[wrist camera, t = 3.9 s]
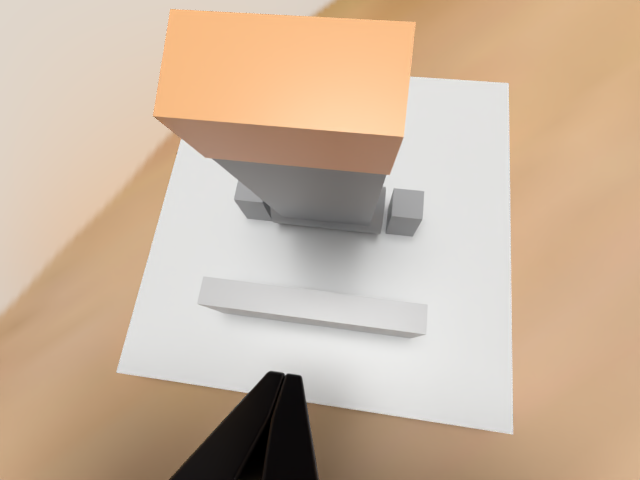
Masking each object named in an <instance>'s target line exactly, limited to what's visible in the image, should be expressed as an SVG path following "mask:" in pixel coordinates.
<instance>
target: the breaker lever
mask: <svg viewBox="0 0 640 480" xmlns="http://www.w3.org/2000/svg"><path fill="white" fill-rule="evenodd" d="M415 24H416V22H404V21H385V20H366V19H347V18H328V17H309V16H289V15H269V14H251V13H232V12H213V11H194V10H176V9H171V10H170V15H169V21H168V28H167V33H166V39H165V45H164V52H163V58H162V64H161V70H160V77H159V83H158V89H157V95H156V101H155V108H154V113H153V116H154V117H155V118H156V119H157V120H159V121H160V122H161V123H162V124H164V125H165V126H166V127H167V128H169V129H170V130H171V131H172V132H174V133H175V134H176V135H177V136H179V137H180V138H181V139H182V140H184V141H185V142H186V143H188V144H189V145H190V146H191V147H193V148H194V149H195V150H196V151H198V152H199V153H200V154H201V155H203V156H204V157H205V158H212V159H213V160H214V161H215V162H217V163H218V164H219V165H220V166H222V167H223V168H224V169H225V170H226V171H228V172H229V173H230V174H231V175H232V176H234V177H235V178H236V179H237V180H239V181H240V182H241V183H242V184H243V185H245V186H246V187H247V188H248V189H249V190H251V191H252V192H253V193H254V194H256V195H257V196H258V197H259V198H260V199H262V200H263V201H264V202H265V203H266V204H268V205H269V206H270V210H271V219H272V221H273V222H274V223H283V224H292V225H301V226H310V227H320V228H329V229H338V230H347V231H356V232H365V233H375V234H380V233H381V229H382V223H383V216H384V207H385V197H386V187H383V184H384V181H385V178H386V175H390V173H391V170H392V167H393V165H394V162H395V159H396V157H397V154H398V151H399V148H400V146H401V143H402V140H403V138H404V130H405V120H406V110H407V101H408V91H409V82H410V72H411V62H412V53H413V43H414V34H415Z"/></svg>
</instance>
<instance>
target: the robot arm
mask: <svg viewBox="0 0 640 480" xmlns="http://www.w3.org/2000/svg"><path fill="white" fill-rule="evenodd" d="M169 480H319V477H318V471H317V464H316V458H315V452H314V446H313V440H312V434H311V428H310V422H309V415H308V409H307V403H306V397H305V391H304V385H303V379H302V376H301V375H297V374H290V373H287V374H286V375H285V374H284V373H283V372H277V371H269V372H267V373H266V374H265V375H264V377H263V378H262V379H261V380H260V381H259V382H258V383H257V384H256V385H255V386H254V387H253V389H252V390H251V391H250V392H249V393H248V394H247V395H246V396H245V397H244V398H243V399H242V401H241V402H240V403H239V404H238V405H237V406H236V407H235V408H234V409H233V410H232V411H231V413H230V414H229V415H228V416H227V417H226V418H225V419H224V420H223V421H222V422H221V424H220V425H219V426H218V427H217V428H216V429H215V430H214V431H213V432H212V433H211V434H210V436H209V437H208V438H207V439H206V440H205V441H204V442H203V443H202V444H201V445H200V446H199V448H198V449H197V450H196V451H195V452H194V453H193V454H192V455H191V456H190V457H189V458H188V460H187V461H186V462H185V463H184V464H183V465H182V466H181V467H180V468H179V469H178V470H177V472H176V473H175V474H174V475H173V476H172V477H171V478H170V479H169Z"/></svg>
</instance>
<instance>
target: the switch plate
mask: <svg viewBox="0 0 640 480" xmlns="http://www.w3.org/2000/svg"><path fill="white" fill-rule="evenodd" d="M383 187H386V197H385V207H384V216H383V223H382V229H381V233H380V234H375V233H365V232H356V231H347V230H338V229H329V228H320V227H310V226H301V225H292V224H283V223H274V222H273V221H272V219H271V210H270V206H269V205H268V204H266V203H265V202H264V201H263V200H262V199H260V198H259V197H258V196H257V195H256V194H254V193H253V192H252V191H251V190H249V189H248V188H247V187H246V186H245V185H243V184H242V183H241V182H240V181H239V180H237V179H236V178H235V177H234V176H232V175H231V174H230V173H229V172H228V171H226V170H225V169H224V168H223V167H222V166H220V165H219V164H218V163H217V162H215V161H214V160H213V159H212V158H205V157H204V156H203V155H201V154H200V153H199V152H198V151H196V150H195V149H194V148H193V147H191V146H190V145H189V144H188V143H186V142H185V141H184V140H182V139H181V141H180V145H179V149H178V152H177V156H176V159H175V163H174V167H173V170H172V174H171V177H170V181H169V185H168V188H167V192H166V195H165V199H164V203H163V206H162V210H161V213H160V217H159V221H158V224H157V228H156V231H155V235H154V239H153V242H152V246H151V249H150V253H149V257H148V260H147V264H146V267H145V271H144V275H143V278H142V282H141V285H140V289H139V293H138V296H137V300H136V303H135V307H134V311H133V314H132V318H131V321H130V325H129V329H128V332H127V336H126V339H125V343H124V347H123V350H122V354H121V357H120V361H119V365H118V368H117V372H116V373H123V374H129V375H136V376H142V377H148V378H155V379H161V380H168V381H174V382H180V383H187V384H193V385H200V386H206V387H212V388H219V389H225V390H232V391H238V392H244V393H249V392H250V391H251V390H252V389H253V387H254V386H255V385H256V384H257V383H258V382H259V381H260V380H261V379H262V378H263V377H264V375H265V374H266V373H267V372H269V371H277V372H283V373H284V374H285V375H286V374H287V373H290V374H297V375H301V376H302V379H303V385H304V391H305V397H306V402H308V403H315V404H321V405H328V406H334V407H341V408H347V409H353V410H360V411H366V412H373V413H379V414H385V415H392V416H398V417H405V418H411V419H417V420H424V421H430V422H437V423H443V424H449V425H456V426H462V427H469V428H475V429H481V430H488V431H494V432H501V433H507V434H513V388H512V309H511V230H510V151H509V83H498V82H483V81H468V80H453V79H438V78H423V77H410V82H409V91H408V101H407V110H406V120H405V130H404V138H403V140H402V143H401V146H400V148H399V151H398V154H397V157H396V159H395V162H394V165H393V167H392V170H391V173H390V175H386V178H385V181H384V184H383Z"/></svg>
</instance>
